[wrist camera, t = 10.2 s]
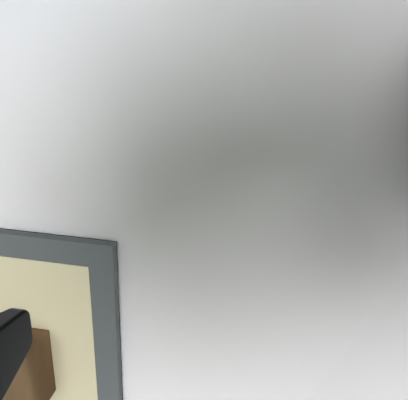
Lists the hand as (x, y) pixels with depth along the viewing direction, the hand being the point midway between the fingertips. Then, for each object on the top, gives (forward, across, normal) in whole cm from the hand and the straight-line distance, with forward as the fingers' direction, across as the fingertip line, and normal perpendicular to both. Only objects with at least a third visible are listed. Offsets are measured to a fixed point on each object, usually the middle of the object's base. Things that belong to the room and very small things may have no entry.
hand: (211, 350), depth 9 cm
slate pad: (+12, +14, +13) cm, 23 cm away
